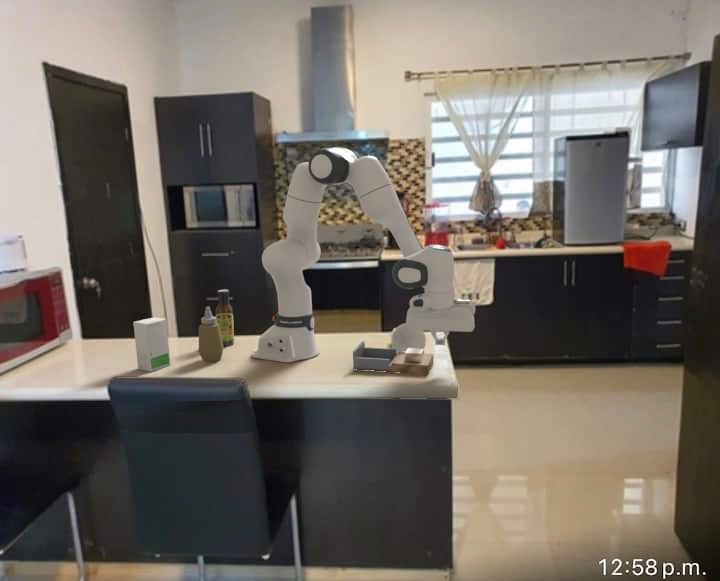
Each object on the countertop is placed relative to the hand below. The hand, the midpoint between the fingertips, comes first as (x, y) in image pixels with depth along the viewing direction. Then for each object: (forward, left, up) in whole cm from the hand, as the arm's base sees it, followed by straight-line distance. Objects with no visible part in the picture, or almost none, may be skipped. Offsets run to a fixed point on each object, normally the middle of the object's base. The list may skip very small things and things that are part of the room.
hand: (440, 344), depth 170 cm
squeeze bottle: (-75, -4, -8) cm, 76 cm away
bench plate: (-8, 0, -8) cm, 12 cm away
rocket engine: (-14, +18, -8) cm, 24 cm away
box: (-20, 0, -8) cm, 21 cm away
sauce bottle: (-79, +13, -8) cm, 80 cm away
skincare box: (-90, -14, -8) cm, 91 cm away
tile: (-8, 0, -5) cm, 9 cm away
